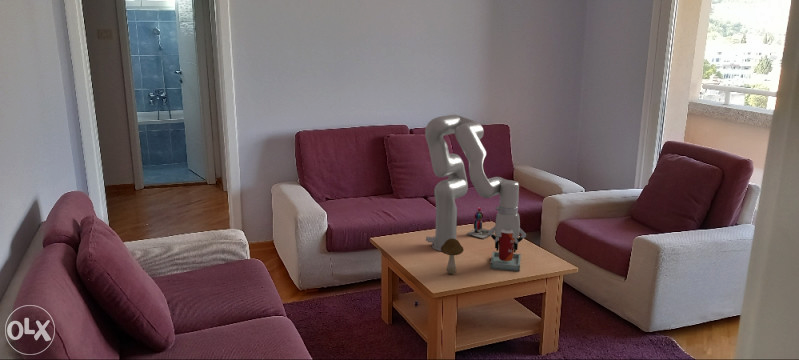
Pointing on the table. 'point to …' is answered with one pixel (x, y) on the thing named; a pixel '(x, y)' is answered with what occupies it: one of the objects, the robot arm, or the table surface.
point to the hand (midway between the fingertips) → (506, 250)
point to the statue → (479, 226)
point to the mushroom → (451, 253)
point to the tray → (505, 262)
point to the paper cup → (506, 245)
